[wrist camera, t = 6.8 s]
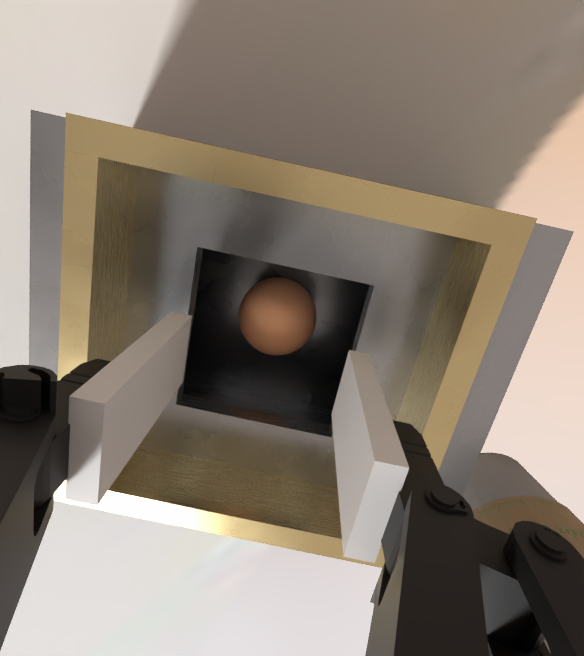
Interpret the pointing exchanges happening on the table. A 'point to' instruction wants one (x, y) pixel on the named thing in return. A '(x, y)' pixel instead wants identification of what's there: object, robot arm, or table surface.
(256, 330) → the ball
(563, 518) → the coffee cup
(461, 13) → the table surface
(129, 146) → the open square box
